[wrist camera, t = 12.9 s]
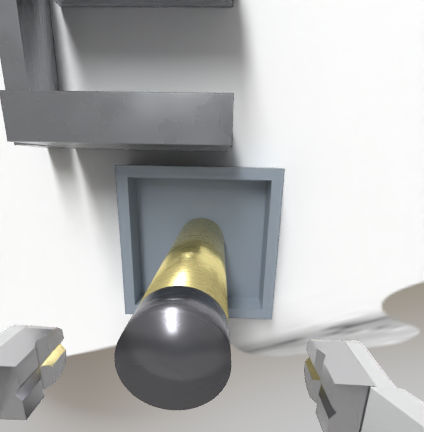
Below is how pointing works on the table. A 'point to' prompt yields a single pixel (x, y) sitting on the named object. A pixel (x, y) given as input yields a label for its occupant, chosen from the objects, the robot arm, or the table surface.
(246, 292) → the tray
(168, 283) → the pin
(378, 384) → the robot arm
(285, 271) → the table surface
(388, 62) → the table surface
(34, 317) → the table surface
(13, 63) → the clevis block
